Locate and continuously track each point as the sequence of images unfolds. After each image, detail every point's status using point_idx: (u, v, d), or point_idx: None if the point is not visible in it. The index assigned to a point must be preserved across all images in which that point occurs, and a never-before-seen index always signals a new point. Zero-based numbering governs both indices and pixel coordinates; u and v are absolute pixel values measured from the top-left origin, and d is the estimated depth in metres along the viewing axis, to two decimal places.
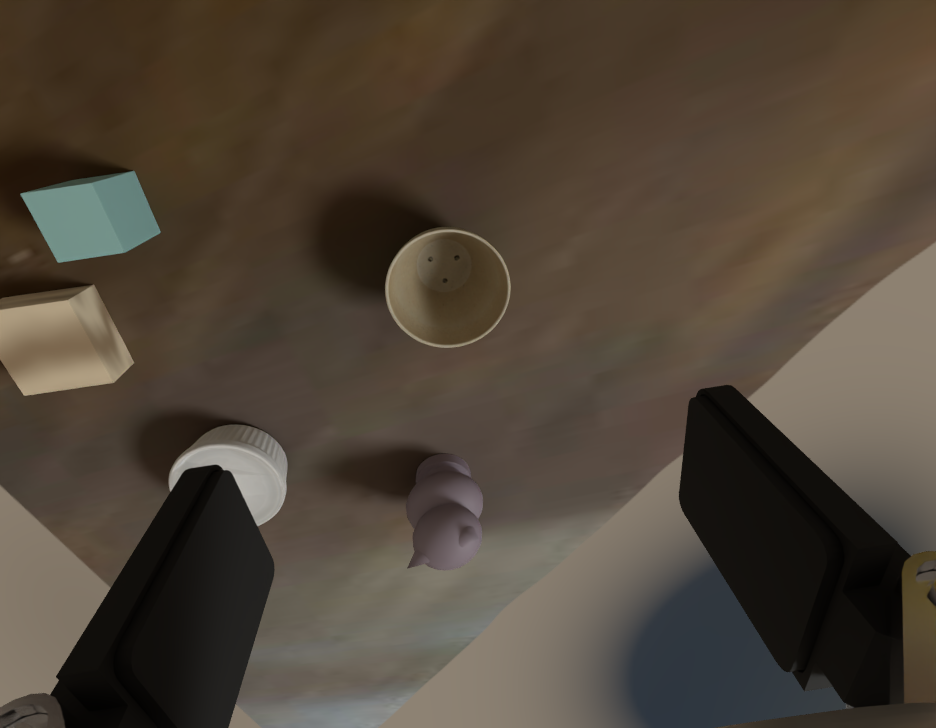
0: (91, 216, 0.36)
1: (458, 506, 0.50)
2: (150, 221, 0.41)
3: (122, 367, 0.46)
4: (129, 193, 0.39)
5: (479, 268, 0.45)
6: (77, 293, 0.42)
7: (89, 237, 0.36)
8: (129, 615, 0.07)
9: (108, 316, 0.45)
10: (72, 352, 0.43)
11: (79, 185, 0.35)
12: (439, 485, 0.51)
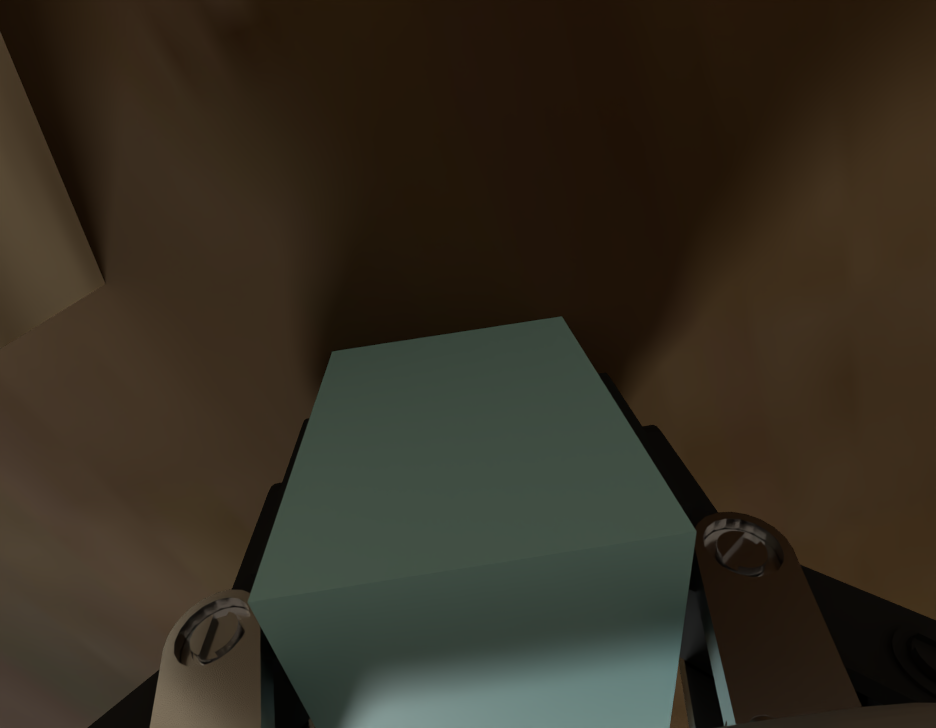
0: None
1: None
2: None
3: None
4: None
5: None
6: (24, 318, 0.08)
7: (426, 724, 0.07)
8: None
9: None
10: None
11: None
12: None
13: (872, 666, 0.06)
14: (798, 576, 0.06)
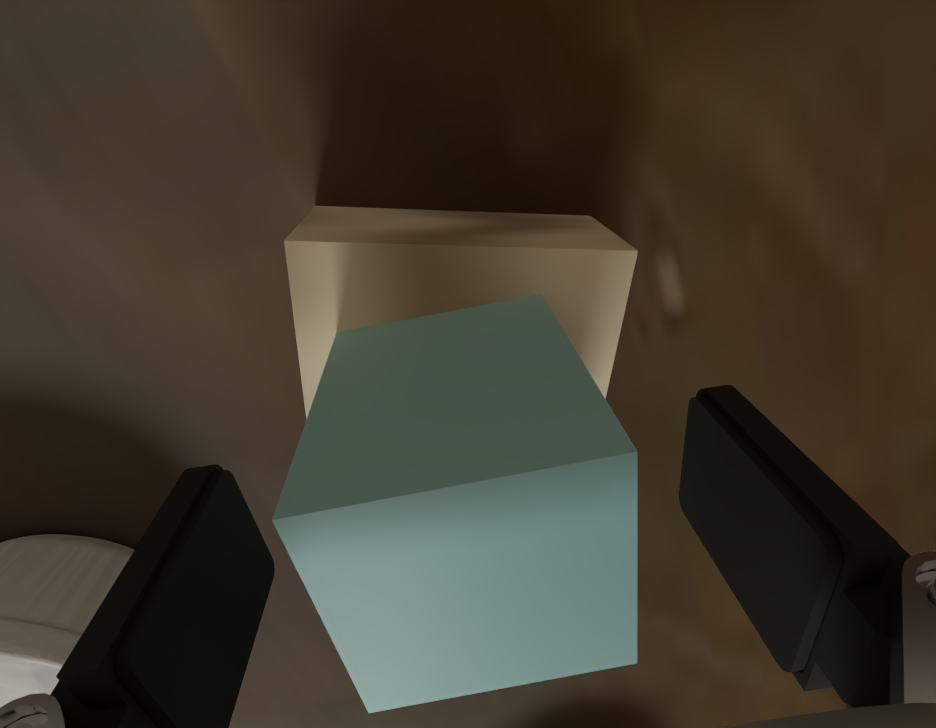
0: (513, 650, 0.09)
1: None
2: None
3: None
4: None
5: None
6: None
7: (425, 636, 0.08)
8: (129, 615, 0.07)
9: None
10: None
11: (632, 628, 0.09)
12: None
13: None
14: None
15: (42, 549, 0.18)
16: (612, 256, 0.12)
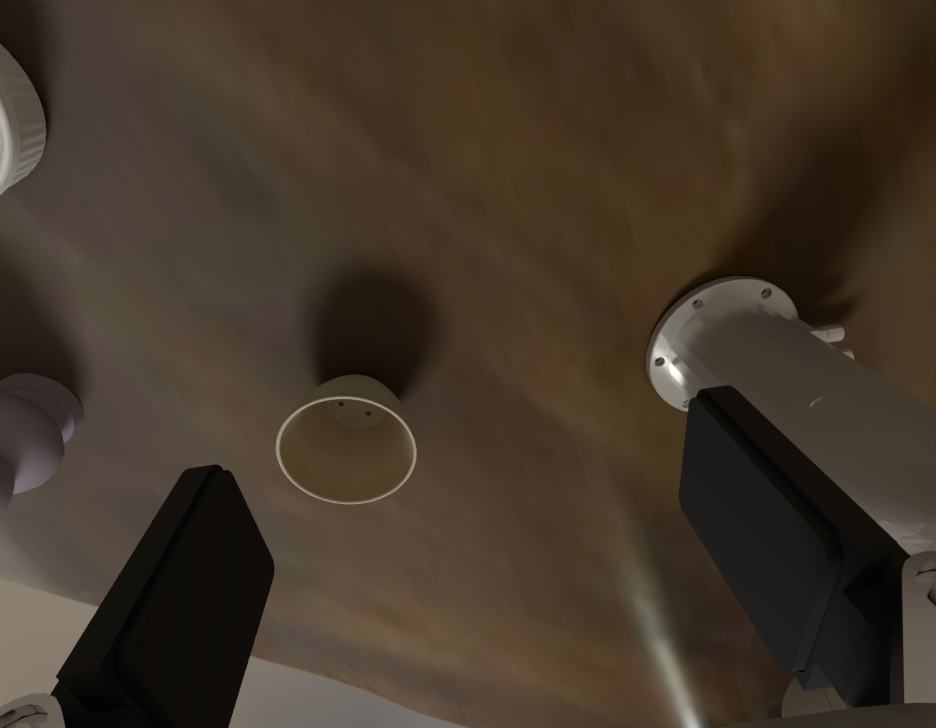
0: None
1: (13, 485, 0.34)
2: None
3: None
4: None
5: (360, 440, 0.42)
6: None
7: None
8: (128, 615, 0.07)
9: None
10: None
11: None
12: (37, 442, 0.35)
13: None
14: None
15: None
16: None
